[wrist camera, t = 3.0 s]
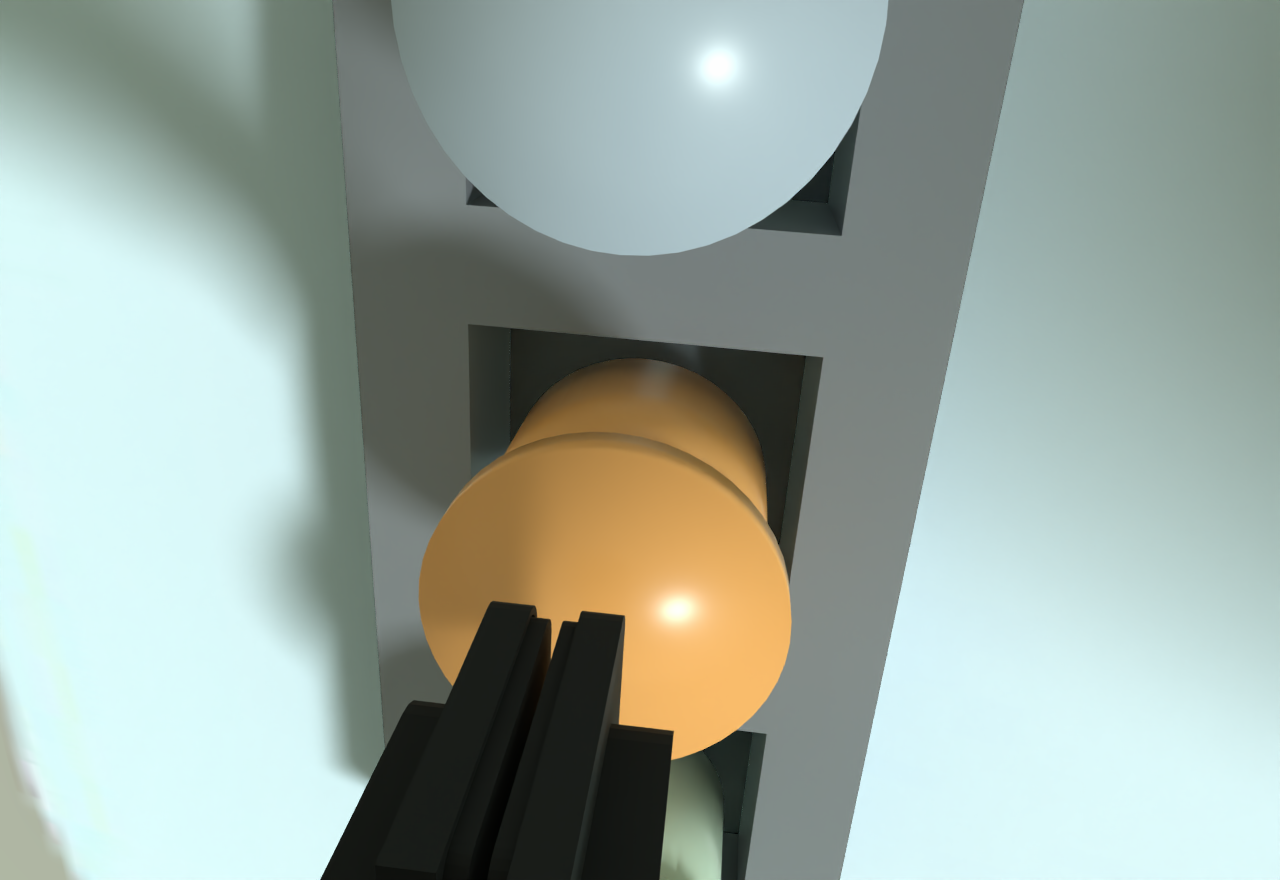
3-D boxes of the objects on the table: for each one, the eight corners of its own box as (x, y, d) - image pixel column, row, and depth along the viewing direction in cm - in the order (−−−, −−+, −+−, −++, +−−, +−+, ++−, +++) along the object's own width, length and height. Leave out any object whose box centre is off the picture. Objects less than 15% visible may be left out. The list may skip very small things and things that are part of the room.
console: (1025, -252, 14) (1090, -319, 11) (811, 872, 24) (818, 980, 21) (389, -279, 15) (307, -347, 12) (436, 821, 25) (397, 919, 22)
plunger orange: (800, 356, 16) (816, 472, 12) (764, 614, 18) (767, 786, 14) (497, 328, 17) (410, 430, 12) (498, 583, 19) (424, 742, 15)
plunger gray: (876, -189, 13) (934, -294, 9) (821, 206, 15) (847, 274, 11) (494, -207, 13) (374, -315, 9) (496, 179, 15) (401, 236, 11)
